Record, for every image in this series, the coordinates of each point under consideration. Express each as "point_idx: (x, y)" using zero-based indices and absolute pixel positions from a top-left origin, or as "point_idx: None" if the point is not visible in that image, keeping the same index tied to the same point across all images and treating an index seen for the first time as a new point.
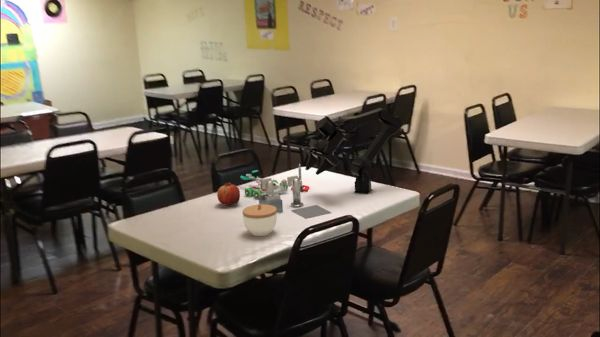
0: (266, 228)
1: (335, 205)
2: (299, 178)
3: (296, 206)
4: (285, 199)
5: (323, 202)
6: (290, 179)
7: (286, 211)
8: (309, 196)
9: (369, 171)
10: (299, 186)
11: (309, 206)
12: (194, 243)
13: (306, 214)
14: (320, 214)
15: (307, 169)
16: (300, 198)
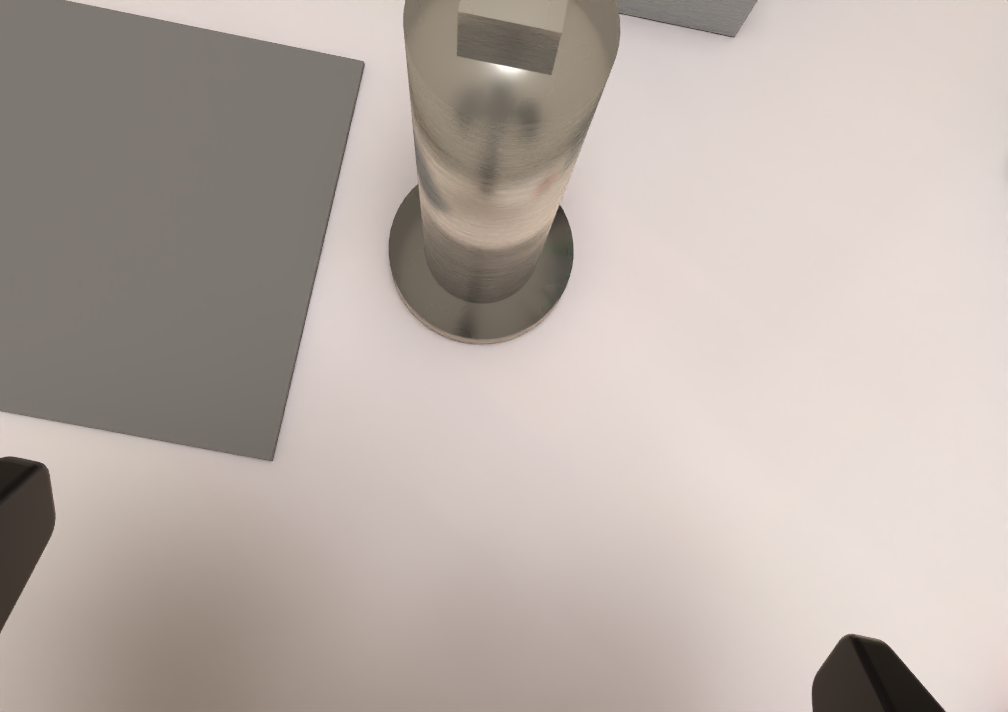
0: None
1: (30, 674)
2: (453, 99)
3: (415, 189)
4: (833, 327)
5: (296, 639)
6: None
7: (391, 7)
8: (705, 690)
9: None
10: (417, 147)
11: (291, 334)
12: None
13: (60, 79)
14: None
15: (826, 710)
16: (437, 259)
